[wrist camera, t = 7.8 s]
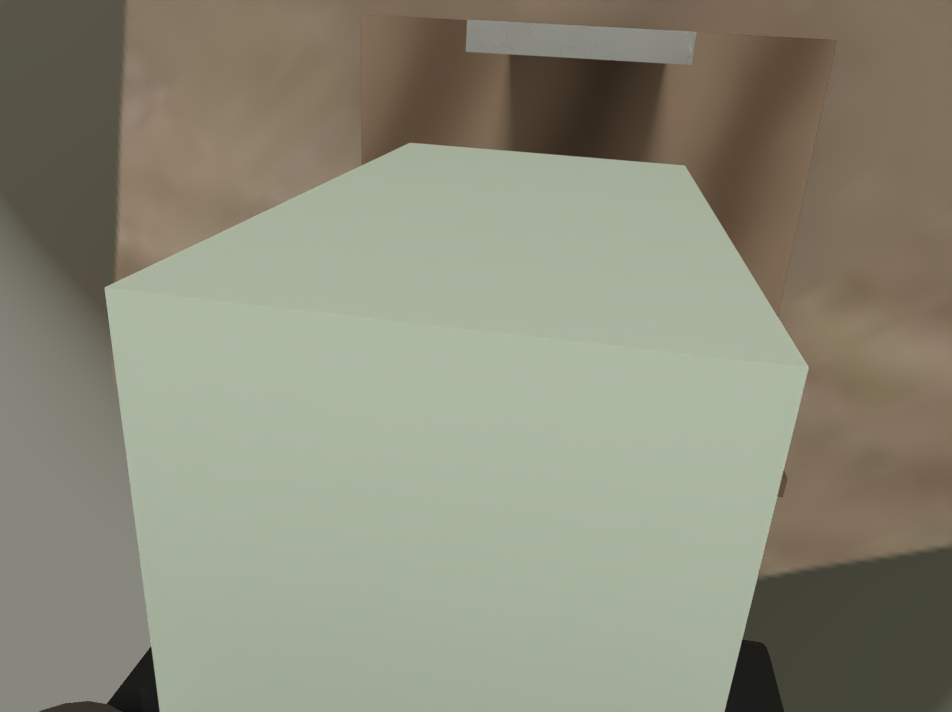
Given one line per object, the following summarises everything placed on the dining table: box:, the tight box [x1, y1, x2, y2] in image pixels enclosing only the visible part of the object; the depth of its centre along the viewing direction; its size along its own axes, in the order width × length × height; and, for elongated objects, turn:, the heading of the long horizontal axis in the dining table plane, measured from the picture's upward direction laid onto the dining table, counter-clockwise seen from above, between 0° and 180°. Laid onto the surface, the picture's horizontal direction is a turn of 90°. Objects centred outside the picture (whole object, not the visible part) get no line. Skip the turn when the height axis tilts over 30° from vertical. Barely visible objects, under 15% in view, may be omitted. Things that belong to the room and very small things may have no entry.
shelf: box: [361, 15, 837, 497], centre depth 28 cm, size 18×16×12 cm
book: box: [105, 143, 809, 712], centre depth 10 cm, size 4×11×8 cm, turn 177°
